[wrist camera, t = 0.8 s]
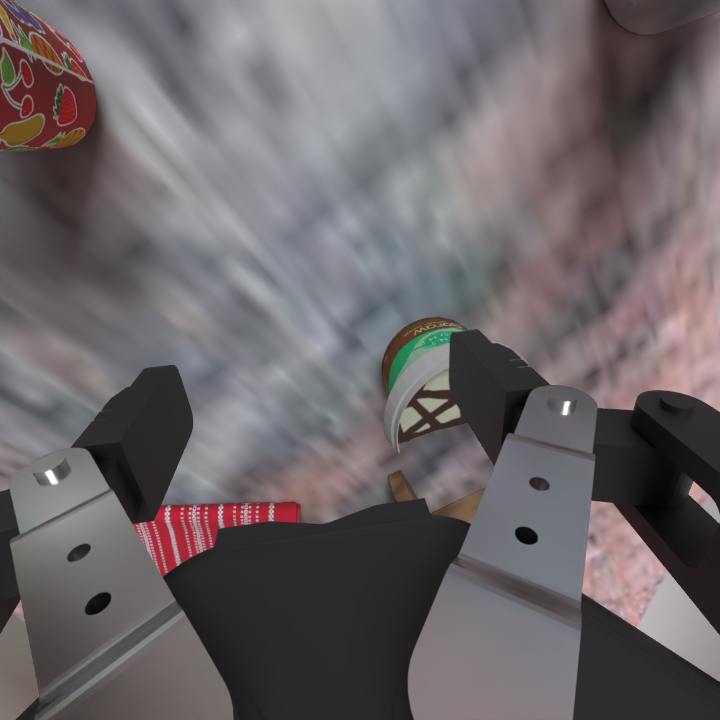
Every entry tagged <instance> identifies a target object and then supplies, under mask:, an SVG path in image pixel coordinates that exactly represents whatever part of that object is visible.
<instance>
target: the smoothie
mask: <svg viewBox="0 0 720 720" xmlns="http://www.w3.org/2000/svg"><path fill="white" fill-rule="evenodd" d="M96 105H97V100H96V94H95V88H94V82H93V79H92V77H91V75H90V73H89V71H88V68H87V66H86V64H85V62H84V60H83V59H82V57H81V56H80V55H79V53H78V52H77V51H76V49H75V48H74V47H73V45H72V44H71V43H70V41H69V40H67V39H66V38H65V37H64V36H62V35H61V34H60V33H59V32H58V31H56V30H55V29H54V28H53V27H51V26H50V25H49V24H47V23H46V22H44V21H43V20H42V19H40V18H39V17H37V16H36V15H35V14H33V13H32V12H30V11H29V10H28V9H26V8H25V7H23V6H22V5H21V4H19V3H18V2H16V1H15V0H0V152H16V151H34V150H51V149H60V148H64V147H68V146H72V145H74V144H76V143H77V142H78V141H79V140H81V139H82V138H83V137H85V136H86V135H87V133H88V131H89V129H90V128H91V126H92V124H93V122H94V120H95V112H96Z"/></svg>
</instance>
